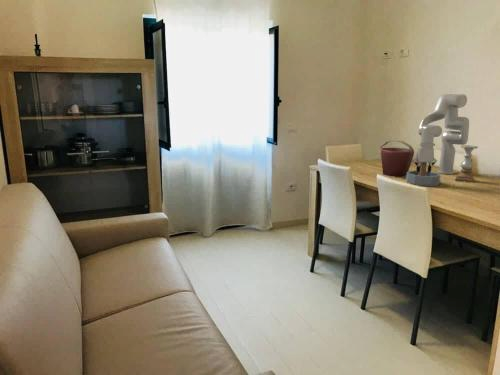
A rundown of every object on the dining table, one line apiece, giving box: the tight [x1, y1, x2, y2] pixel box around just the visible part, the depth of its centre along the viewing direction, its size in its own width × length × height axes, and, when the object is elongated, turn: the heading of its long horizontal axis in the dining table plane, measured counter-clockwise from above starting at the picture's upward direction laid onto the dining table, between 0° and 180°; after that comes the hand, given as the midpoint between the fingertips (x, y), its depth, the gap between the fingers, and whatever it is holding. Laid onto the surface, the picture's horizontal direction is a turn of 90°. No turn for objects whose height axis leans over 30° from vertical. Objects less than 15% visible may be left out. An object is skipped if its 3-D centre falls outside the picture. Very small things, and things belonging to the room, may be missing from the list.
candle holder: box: [454, 144, 478, 183], centre depth 267 cm, size 11×11×24 cm
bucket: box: [380, 140, 415, 178], centre depth 286 cm, size 24×22×25 cm
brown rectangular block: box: [418, 162, 428, 176], centre depth 263 cm, size 6×3×12 cm, turn 174°
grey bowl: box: [405, 169, 441, 187], centre depth 261 cm, size 20×20×6 cm
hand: (423, 171), depth 260 cm, fingers open, 6 cm apart
